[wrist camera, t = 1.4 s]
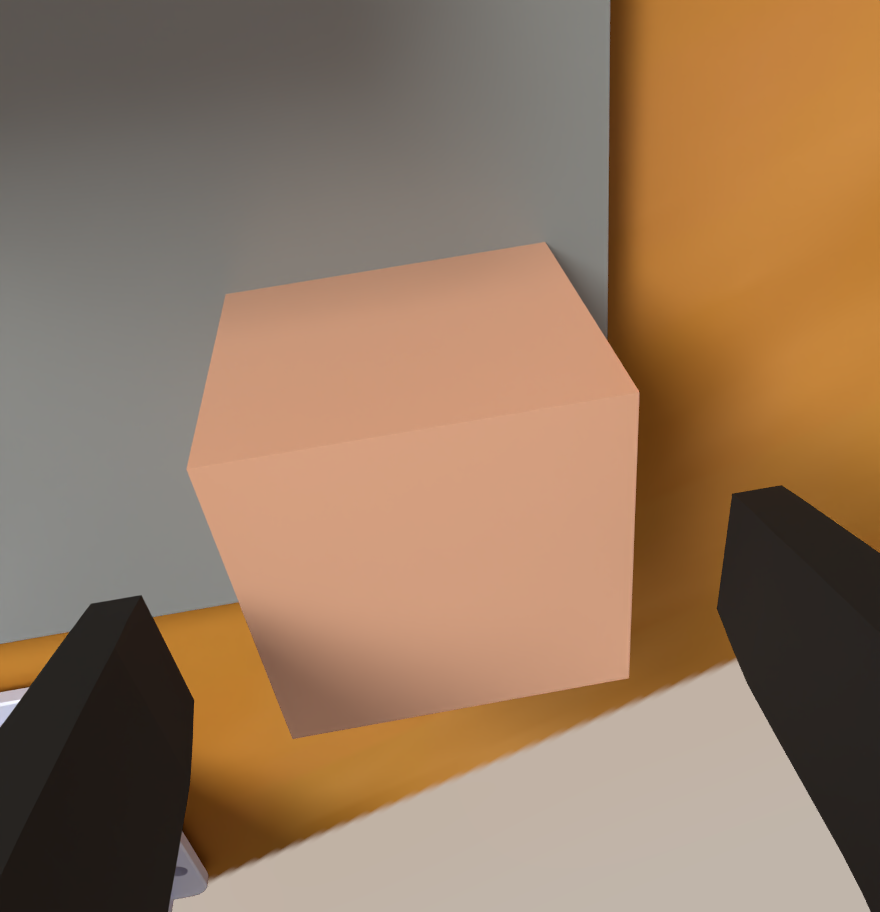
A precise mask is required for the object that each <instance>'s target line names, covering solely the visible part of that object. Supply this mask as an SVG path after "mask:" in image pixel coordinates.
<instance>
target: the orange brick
mask: <svg viewBox="0 0 880 912" xmlns="http://www.w3.org/2000/svg"><path fill="white" fill-rule="evenodd" d="M639 393H640V392H639V390H638V389H637V387H636V386H635V384H634V382H633V381H632V379H631V378H630V376H629V375H628V373H627V371H626V370H625V368H624V367H623V365H622V363H621V362H620V360H619V359H618V357H617V355H616V354H615V352H614V351H613V349H612V347H611V346H610V344H609V343H608V341H607V339H606V338H605V336H604V335H603V333H602V331H601V330H600V328H599V327H598V325H597V324H596V322H595V320H594V319H593V317H592V316H591V314H590V312H589V311H588V309H587V308H586V306H585V304H584V303H583V301H582V300H581V298H580V296H579V295H578V293H577V292H576V290H575V288H574V287H573V285H572V284H571V282H570V281H569V279H568V277H567V276H566V274H565V273H564V271H563V269H562V268H561V266H560V265H559V263H558V261H557V260H556V258H555V257H554V255H553V253H552V252H551V250H550V249H549V247H548V245H547V244H546V242H542V243H535V244H529V245H523V246H517V247H511V248H505V249H499V250H493V251H487V252H481V253H474V254H468V255H462V256H456V257H450V258H444V259H438V260H432V261H426V262H420V263H413V264H407V265H401V266H395V267H389V268H383V269H377V270H371V271H365V272H358V273H352V274H346V275H340V276H334V277H328V278H322V279H316V280H310V281H304V282H297V283H291V284H285V285H279V286H273V287H267V288H261V289H255V290H249V291H243V292H236V293H230V294H226V295H225V299H224V304H223V308H222V313H221V317H220V321H219V326H218V330H217V335H216V339H215V344H214V348H213V353H212V357H211V362H210V366H209V370H208V375H207V379H206V384H205V388H204V393H203V397H202V402H201V406H200V411H199V415H198V419H197V424H196V428H195V433H194V437H193V442H192V446H191V451H190V455H189V460H188V464H187V472H188V475H189V477H190V480H191V482H192V485H193V487H194V490H195V492H196V495H197V497H198V500H199V502H200V505H201V508H202V510H203V513H204V515H205V518H206V520H207V523H208V525H209V528H210V530H211V533H212V535H213V538H214V541H215V543H216V546H217V548H218V551H219V553H220V556H221V558H222V561H223V563H224V566H225V568H226V571H227V574H228V576H229V579H230V581H231V584H232V586H233V589H234V591H235V594H236V596H237V599H238V601H239V604H240V607H241V609H242V612H243V614H244V617H245V619H246V622H247V624H248V627H249V629H250V632H251V634H252V637H253V640H254V642H255V645H256V647H257V650H258V652H259V655H260V657H261V660H262V662H263V665H264V667H265V670H266V673H267V675H268V678H269V680H270V683H271V685H272V688H273V690H274V693H275V695H276V698H277V700H278V703H279V706H280V708H281V711H282V713H283V716H284V718H285V721H286V723H287V726H288V728H289V731H290V733H291V736H292V739H295V738H300V737H306V736H311V735H317V734H322V733H328V732H333V731H339V730H344V729H350V728H356V727H361V726H367V725H372V724H378V723H383V722H389V721H394V720H400V719H405V718H411V717H416V716H422V715H428V714H433V713H439V712H444V711H450V710H455V709H461V708H466V707H472V706H477V705H483V704H489V703H494V702H500V701H505V700H511V699H516V698H522V697H527V696H533V695H538V694H544V693H549V692H555V691H561V690H566V689H572V688H577V687H583V686H588V685H594V684H599V683H605V682H610V681H616V680H621V679H627V678H629V662H630V635H631V608H632V581H633V555H634V528H635V501H636V474H637V447H638V420H639Z"/></svg>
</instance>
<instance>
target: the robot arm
mask: <svg viewBox="0 0 880 912" xmlns="http://www.w3.org/2000/svg"><path fill="white" fill-rule="evenodd" d="M717 610H718V613H719V615H720V618H721V620H722V623H723V625H724V628H725V630H726V633H727V636H728V638H729V641H730V643H731V646H732V648H733V651H734V653H735V656H736V658H737V660H738V663H739V665H740V667H741V670H742V672H743V674H744V677H745V679H746V681H747V684H748V686H749V687H750V689H751V691H752V693H753V695H754V697H755V699H756V700H757V702H758V704H759V706H760V708H761V709H762V711H763V713H764V715H765V717H766V719H767V720H768V722H769V724H770V726H771V727H772V729H773V731H774V733H775V735H776V737H777V739H778V740H779V742H780V744H781V746H782V747H783V749H784V751H785V753H786V755H787V756H788V758H789V760H790V762H791V763H792V765H793V767H794V769H795V771H796V772H797V774H798V776H799V778H800V779H801V781H802V783H803V785H804V786H805V788H806V790H807V792H808V794H809V795H810V797H811V799H812V801H813V803H814V804H815V806H816V808H817V809H818V812H819V813H820V815H821V817H822V819H823V820H824V822H825V824H826V826H827V828H828V829H829V831H830V833H831V835H832V836H833V838H834V840H835V842H836V844H837V845H838V847H839V849H840V851H841V853H842V854H843V856H844V858H845V860H846V862H847V864H848V866H849V868H850V870H851V872H852V874H853V876H854V878H855V880H856V882H857V884H858V886H859V887H860V890H861V891H862V893H863V896H864V898H865V900H866V902H867V904H868V907H869V909H870V911H871V912H880V553H879V552H877V551H876V550H874V549H873V548H871V547H870V546H869V545H867V544H866V543H864V542H863V541H861V540H860V539H858V538H857V537H856V536H854V535H853V534H851V533H850V532H848V531H847V530H846V529H844V528H843V527H841V526H840V525H838V524H837V523H836V522H834V521H833V520H831V519H830V518H828V517H827V516H826V515H824V514H823V513H821V512H820V511H818V510H817V509H816V508H814V507H813V506H811V505H810V504H808V503H807V502H806V501H804V500H803V499H801V498H800V497H798V496H797V495H795V494H794V493H792V492H791V491H789V490H788V489H786V488H785V487H783V486H782V485H781V486H775V487H769V488H763V489H758V490H752V491H746V492H740V493H734V494H732V500H731V508H730V515H729V523H728V530H727V538H726V545H725V553H724V560H723V568H722V575H721V582H720V590H719V597H718V605H717ZM193 714H194V699H193V697H192V695H191V693H190V691H189V689H188V687H187V685H186V683H185V681H184V679H183V677H182V675H181V673H180V671H179V669H178V667H177V665H176V663H175V661H174V659H173V657H172V655H171V653H170V651H169V649H168V647H167V645H166V643H165V641H164V639H163V637H162V635H161V633H160V631H159V629H158V627H157V625H156V623H155V621H154V619H153V617H152V615H151V613H150V611H149V609H148V607H147V605H146V603H145V601H144V599H143V597H142V595H139V596H133V597H127V598H121V599H115V600H109V601H104V602H98V603H92V604H90V605H89V607H88V608H87V609H86V611H85V612H84V613H83V615H82V616H81V617H80V619H79V620H78V621H77V623H76V624H75V625H74V627H73V628H72V629H71V631H70V632H69V634H68V635H67V636H66V638H65V639H64V640H63V642H62V643H61V645H60V646H59V647H58V649H57V650H56V651H55V653H54V654H53V655H52V657H51V658H50V660H49V661H48V662H47V664H46V665H45V667H44V668H43V669H42V671H41V672H40V673H39V675H38V676H37V678H36V679H35V680H34V682H33V683H32V685H31V686H30V687H27V688H21V689H16V690H10V691H4V692H0V912H172V906H173V900H174V899H179V898H185V897H190V896H195V895H198V894H200V893H202V892H204V891H205V889H206V888H207V884H208V873H207V871H206V869H205V868H204V866H203V864H202V863H201V861H200V859H199V858H198V856H197V855H196V853H195V851H194V850H193V848H192V846H191V845H190V843H189V841H188V840H187V838H186V836H185V835H184V833H183V832H182V829H183V823H184V817H185V811H186V805H187V799H188V792H189V786H190V776H191V760H192V743H193Z"/></svg>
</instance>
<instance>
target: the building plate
mask: <svg viewBox="0 0 880 912" xmlns="http://www.w3.org/2000/svg"><path fill="white" fill-rule="evenodd" d="M609 85H610V0H0V644H2V643H8V642H13V641H19V640H25V639H31V638H36V637H42V636H48V635H53V634H59V633H65V632H70V631H71V629H72V628H73V627H74V625H75V624H76V623H77V621H78V620H79V619H80V617H81V616H82V615H83V613H84V612H85V611H86V609H87V608H88V607H89V605H90V604H92V603H98V602H104V601H109V600H115V599H121V598H127V597H133V596H139V595H142V597H143V599H144V601H145V603H146V605H147V607H148V609H149V611H150V613H151V615H152V617H156V616H162V615H168V614H173V613H179V612H185V611H190V610H196V609H202V608H208V607H213V606H219V605H225V604H230V603H236V602H239V601H238V599H237V596H236V594H235V591H234V589H233V586H232V584H231V581H230V579H229V576H228V574H227V571H226V568H225V566H224V563H223V561H222V558H221V556H220V553H219V551H218V548H217V546H216V543H215V541H214V538H213V535H212V533H211V530H210V528H209V525H208V523H207V520H206V518H205V515H204V513H203V510H202V508H201V505H200V502H199V500H198V497H197V495H196V492H195V490H194V487H193V485H192V482H191V480H190V477H189V475H188V472H187V464H188V460H189V455H190V451H191V446H192V442H193V437H194V433H195V428H196V424H197V419H198V415H199V411H200V406H201V402H202V397H203V393H204V388H205V384H206V379H207V375H208V370H209V366H210V362H211V357H212V353H213V348H214V344H215V339H216V335H217V330H218V326H219V321H220V317H221V313H222V308H223V304H224V299H225V295H226V294H230V293H236V292H243V291H249V290H255V289H261V288H267V287H273V286H279V285H285V284H291V283H297V282H304V281H310V280H316V279H322V278H328V277H334V276H340V275H346V274H352V273H358V272H365V271H371V270H377V269H383V268H389V267H395V266H401V265H407V264H413V263H420V262H426V261H432V260H438V259H444V258H450V257H456V256H462V255H468V254H474V253H481V252H487V251H493V250H499V249H505V248H511V247H517V246H523V245H529V244H535V243H542V242H546V244H547V245H548V247H549V249H550V250H551V252H552V253H553V255H554V257H555V258H556V260H557V261H558V263H559V265H560V266H561V268H562V269H563V271H564V273H565V274H566V276H567V277H568V279H569V281H570V282H571V284H572V285H573V287H574V288H575V290H576V292H577V293H578V295H579V296H580V298H581V300H582V301H583V303H584V304H585V306H586V308H587V309H588V311H589V312H590V314H591V316H592V317H593V319H594V320H595V322H596V324H597V325H598V327H599V328H600V330H601V331H602V333H603V335H604V336H605V338H606V339H607V331H608V208H609Z"/></svg>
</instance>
